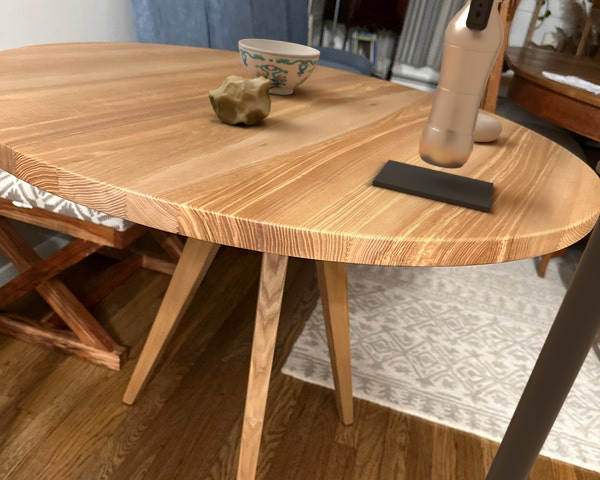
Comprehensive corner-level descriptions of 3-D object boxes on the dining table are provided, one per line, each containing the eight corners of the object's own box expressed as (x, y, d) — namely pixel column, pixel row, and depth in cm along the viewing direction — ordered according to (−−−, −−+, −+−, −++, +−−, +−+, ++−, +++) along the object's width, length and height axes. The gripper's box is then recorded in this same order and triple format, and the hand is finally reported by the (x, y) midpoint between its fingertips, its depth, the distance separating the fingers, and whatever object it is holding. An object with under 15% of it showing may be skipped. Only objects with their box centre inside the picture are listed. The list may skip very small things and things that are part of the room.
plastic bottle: (415, 169, 67) (462, -24, 56) (412, 153, 73) (454, -25, 62) (470, 178, 67) (526, -14, 56) (462, 161, 72) (513, -17, 62)
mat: (492, 187, 74) (493, 183, 73) (489, 212, 65) (490, 207, 65) (387, 163, 77) (388, 159, 76) (371, 185, 68) (372, 180, 68)
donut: (431, 134, 94) (490, 148, 90) (436, 113, 93) (496, 126, 89) (450, 125, 102) (505, 138, 98) (455, 105, 100) (511, 117, 96)
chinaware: (328, 94, 110) (334, 52, 106) (287, 104, 99) (293, 57, 95) (264, 78, 116) (268, 37, 112) (219, 85, 105) (221, 40, 101)
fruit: (272, 126, 90) (286, 77, 85) (252, 145, 83) (266, 92, 78) (220, 104, 91) (230, 54, 86) (195, 121, 83) (205, 67, 78)
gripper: (576, -186, 46) (511, 38, 55) (565, -151, 58) (512, 29, 67) (484, -193, 48) (434, 25, 56) (491, -158, 60) (449, 18, 68)
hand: (477, 26), depth 62 cm, fingers closed on plastic bottle, 6 cm apart
